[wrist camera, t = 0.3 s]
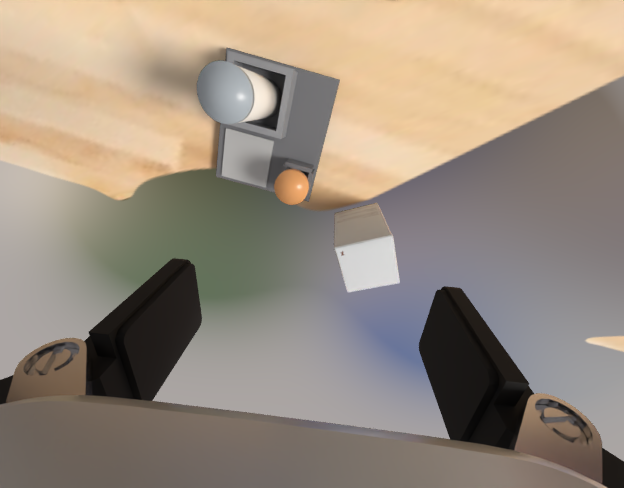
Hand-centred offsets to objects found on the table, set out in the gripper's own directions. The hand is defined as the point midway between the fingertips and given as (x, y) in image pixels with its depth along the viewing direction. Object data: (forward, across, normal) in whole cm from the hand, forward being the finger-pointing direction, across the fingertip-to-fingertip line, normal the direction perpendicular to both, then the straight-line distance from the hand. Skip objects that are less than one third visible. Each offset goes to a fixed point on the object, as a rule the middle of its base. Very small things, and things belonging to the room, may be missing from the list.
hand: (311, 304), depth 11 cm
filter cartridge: (+33, +10, -8) cm, 35 cm away
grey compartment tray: (+34, +9, -4) cm, 35 cm away
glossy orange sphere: (+30, +5, +2) cm, 31 cm away
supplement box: (+35, -6, +10) cm, 37 cm away
